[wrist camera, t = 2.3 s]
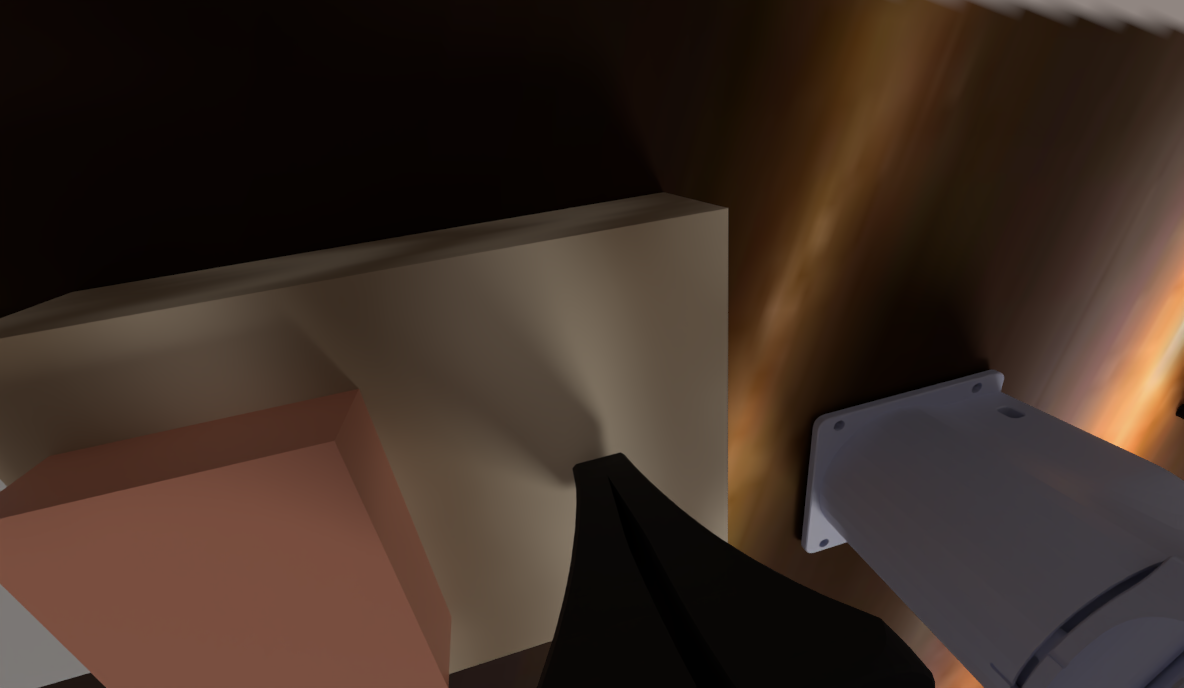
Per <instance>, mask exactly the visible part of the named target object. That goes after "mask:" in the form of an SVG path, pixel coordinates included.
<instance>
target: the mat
mask: <svg viewBox="0 0 1184 688" xmlns="http://www.w3.org/2000/svg"><path fill="white" fill-rule="evenodd" d="M6 487H7V486H6V485H5V484H4V483H3V482H2V481H1V479H0V492H1V491H2V490H3V489H5V488H6ZM87 673H90V671H89V670H88V669H87V668H86V667H85V666H84V665H83V664H82V663H81V662H80V661H79V660H78V659H77V658H76V657H75V656H74V655H73V654H72V653H70V652H69V651H68V650H67V649H66V648H65V647H64V646H63V645H62V644H61V643H60V642H59V641H58V640H57V639H56V638H55V637H54V636H53V635H52V634H51V633H50V632H49V631H48V630H47V629H46V628H45V627H44V626H43V625H42V624H41V623H40V622H39V621H38V620H37V619H36V618H35V617H34V616H33V615H32V614H31V613H30V612H29V611H28V610H27V609H25V608H24V607H23V606H22V605H21V604H20V603H19V602H18V601H17V600H16V599H15V598H14V597H13V596H12V595H11V594H10V593H9V592H8V591H7V590H6V589H5V588H4V587H3V586H2V585H1V584H0V688H38V687H42V686H45V685H49V684H52V683H55V682H59V681H62V680H66V679H69V678H73V677H76V676H80V675H83V674H87Z"/></svg>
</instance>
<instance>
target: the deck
mask: <svg viewBox="0 0 1184 688" xmlns="http://www.w3.org/2000/svg"><path fill="white" fill-rule="evenodd" d="M356 389H359V390H360V392H361V395H362V397H363V400H364V402H365V405H366V407H367V410H368V412H369V415H370V417H371V420H372V422H373V425H374V427H375V429H376V432H377V434H378V437H379V439H380V442H381V444H382V447H383V449H384V452H385V454H386V457H387V459H388V462H389V464H390V466H391V469H392V471H393V474H394V476H395V479H396V481H397V484H398V486H399V489H400V491H401V494H402V496H403V498H404V501H405V503H406V506H407V508H408V511H409V513H410V516H411V518H412V521H413V523H414V526H415V528H416V531H417V533H418V535H419V538H420V540H421V543H422V545H423V548H424V550H425V553H426V555H427V558H428V560H429V563H430V565H431V568H432V570H433V572H434V575H435V577H436V580H437V582H438V585H439V587H440V590H441V592H442V595H443V597H444V600H445V602H446V604H447V607H448V609H449V612H450V614H451V617H452V620H451V641H450V662H449V674H450V673H453V672H456V671H460V670H463V669H466V668H469V667H472V666H475V665H478V664H481V663H484V662H487V661H491V660H494V659H497V658H500V657H503V656H506V655H509V654H512V653H515V652H518V651H522V650H525V649H528V648H531V647H534V646H537V645H540V644H543V643H546V642H549V641H552V640H553V637H554V633H555V630H556V626H557V622H558V618H559V614H560V611H561V607H562V603H563V598H564V594H565V589H566V585H567V580H568V574H569V569H570V563H571V557H572V549H573V541H574V533H575V519H576V486H575V480H574V475H573V470H572V468H573V467H574V466H575V465H576V464H578V463H582V462H585V461H589V460H593V459H597V458H601V457H604V456H608V455H612V454H616V453H620V452H621V453H623V454H624V455H625V456H626V457H627V458H628V459H629V460H630V461H631V462H632V463H633V465H634V466H635V467H636V468H637V469H638V470H639V471H640V472H641V473H642V474H643V475H644V476H645V477H646V478H647V479H648V480H649V481H650V482H651V483H652V484H654V485H655V486H656V487H657V488H658V489H659V490H660V491H661V492H662V493H663V494H665V495H666V496H667V497H668V498H669V499H670V500H671V501H673V502H674V503H675V504H676V505H677V506H678V507H680V508H681V509H682V510H683V511H685V512H686V513H687V514H688V515H690V516H691V517H692V518H694V519H695V520H696V521H697V522H699V523H700V524H701V525H703V526H704V527H705V528H707V529H708V530H709V531H711V532H712V533H714V534H715V535H717V536H718V537H719V538H721V539H722V540H724V541H726V542H727V543H728V208H726V207H722V206H717V205H713V204H709V203H705V202H701V201H697V200H693V199H689V198H685V197H681V196H677V195H673V194H669V193H665V192H662V193H656V194H650V195H644V196H638V197H632V198H626V199H620V200H615V201H609V202H603V203H597V204H591V205H585V206H579V207H573V208H567V209H561V210H555V211H549V212H543V213H538V214H532V215H526V216H520V217H514V218H508V219H502V220H496V221H490V222H484V223H478V224H472V225H466V226H461V227H455V228H449V229H443V230H437V231H431V232H425V233H419V234H413V235H407V236H401V237H395V238H389V239H383V240H378V241H372V242H366V243H360V244H354V245H348V246H342V247H336V248H330V249H324V250H318V251H312V252H306V253H301V254H295V255H289V256H283V257H277V258H271V259H265V260H259V261H253V262H247V263H241V264H235V265H229V266H224V267H218V268H212V269H206V270H200V271H194V272H188V273H182V274H176V275H170V276H164V277H158V278H152V279H147V280H141V281H135V282H129V283H123V284H117V285H111V286H105V287H99V288H93V289H87V290H81V291H75V292H71V293H68V294H66V295H63V296H60V297H57V298H55V299H52V300H49V301H46V302H44V303H41V304H38V305H36V306H33V307H30V308H27V309H25V310H22V311H19V312H16V313H14V314H11V315H8V316H5V317H3V318H0V479H1V481H2V482H3V483H4V484H5V485H6V486H7V487H8V486H9V485H10V484H12V483H13V482H14V481H16V480H17V479H18V478H20V477H21V476H23V475H24V474H25V473H27V472H28V471H29V470H31V469H32V468H34V467H35V466H36V465H38V464H39V463H40V462H42V461H43V460H44V459H46V458H47V457H49V456H52V455H57V454H61V453H66V452H70V451H75V450H80V449H84V448H89V447H93V446H98V445H103V444H107V443H112V442H116V441H121V440H126V439H130V438H135V437H139V436H144V435H149V434H153V433H158V432H162V431H167V430H172V429H176V428H181V427H185V426H190V425H195V424H199V423H204V422H208V421H213V420H218V419H222V418H227V417H231V416H236V415H241V414H245V413H250V412H254V411H259V410H264V409H268V408H273V407H277V406H282V405H287V404H291V403H296V402H300V401H305V400H310V399H314V398H319V397H323V396H328V395H333V394H337V393H342V392H346V391H351V390H356Z"/></svg>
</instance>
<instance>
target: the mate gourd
mask: <svg viewBox="0 0 1184 688" xmlns="http://www.w3.org/2000/svg"><path fill="white" fill-rule="evenodd" d="M1176 416H1178V417H1181V418H1183V419H1184V404H1182V405H1181V406H1180V407H1179V409H1178V411H1177V413H1176Z"/></svg>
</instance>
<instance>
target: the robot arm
mask: <svg viewBox="0 0 1184 688" xmlns="http://www.w3.org/2000/svg"><path fill="white" fill-rule="evenodd" d="M1003 381H1004V376H1003V374H1002V373H1000V372H998V371H996V370H988V371H984V372H980V373H977V374H973V375H969V376H965V377H962V378H958V379H954V380H950V381H947V382H943V383H939V384H936V385H932V386H928V387H924V388H921V389H917V390H913V391H909V392H906V393H902V394H898V395H894V396H891V397H887V398H883V399H879V400H876V401H872V402H868V403H865V404H861V405H857V406H853V407H850V408H846V409H842V410H838V411H835V412H831V413H827V414H824V415H821V416H819V417H818V418H817V419H816V420H815V422H814V425H813V431H812V441H811V451H810V461H809V471H808V481H807V491H806V501H805V511H804V521H803V531H802V541H801V545H802V547H803V548H804V549H805V550H806V551H807V552H808V553H814V552H817V551H820V550H824V549H827V548H830V547H833V546H836V545H839V544H842V543H845V542H848V543H849V544H850V545H851V546H852V548H853V549H854V550H855V551H856V552H857V553H858V554H859V555H860V556H861V557H862V558H863V559H864V560H865V561H866V562H867V563H868V565H869V566H870V567H871V568H872V569H873V570H874V571H875V572H876V573H877V574H878V575H879V576H880V577H881V578H882V579H883V580H884V582H885V583H886V584H887V585H888V586H889V587H890V588H891V589H892V590H893V591H894V592H895V593H896V594H897V595H898V596H899V597H900V599H901V600H902V601H903V602H904V603H905V604H906V605H907V606H908V607H909V608H910V609H911V610H912V611H913V612H914V613H915V614H916V616H917V617H918V618H919V619H920V620H921V621H922V622H923V623H924V624H925V625H926V626H927V627H928V628H929V629H930V630H931V631H932V633H933V634H934V635H935V636H936V637H937V638H938V639H939V640H940V641H941V642H942V643H943V644H944V645H945V646H946V647H947V648H948V650H949V651H950V652H951V653H952V654H953V655H954V656H955V657H956V658H957V659H958V660H959V661H960V662H961V663H962V664H963V665H964V667H965V668H966V669H967V670H968V671H969V672H970V673H971V674H972V675H973V676H974V677H975V678H976V679H977V680H978V681H979V682H980V684H981V685H982V686H983V687H984V688H1184V481H1183V480H1182V479H1180V478H1179V477H1177V476H1175V475H1174V474H1172V473H1171V472H1169V471H1167V470H1165V469H1164V468H1162V467H1160V466H1158V465H1156V464H1154V463H1152V462H1150V461H1148V460H1145V459H1143V458H1141V457H1139V456H1137V455H1135V454H1133V453H1130V452H1128V451H1126V450H1124V449H1122V448H1120V447H1118V446H1115V445H1113V444H1111V443H1109V442H1107V441H1105V440H1103V439H1101V438H1098V437H1096V436H1094V435H1092V434H1090V433H1088V432H1086V431H1083V430H1081V429H1079V428H1077V427H1075V426H1073V425H1071V424H1068V423H1066V422H1064V421H1062V420H1060V419H1058V418H1056V417H1054V416H1051V415H1049V414H1047V413H1045V412H1043V411H1041V410H1039V409H1036V408H1034V407H1032V406H1030V405H1028V404H1026V403H1024V402H1021V401H1019V400H1017V399H1015V398H1013V397H1011V396H1009V395H1007V394H1004V393H1002V392H1000V391H1001V388H1002V385H1003ZM572 470H573V475H574V480H575V486H576V519H575V533H574V541H573V549H572V557H571V563H570V569H569V574H568V580H567V585H566V589H565V594H564V598H563V603H562V607H561V611H560V614H559V618H558V622H557V626H556V630H555V633H554V637H553V640H552V644H551V647H550V650H549V653H548V656H547V659H546V662H545V665H544V668H543V671H542V674H541V677H540V680H539V683H538V686H537V688H935V681H934V678H933V675H932V673H931V671H930V670H929V669H928V668H927V667H926V666H925V664H924V663H923V662H922V661H921V660H920V659H919V658H918V656H917V655H916V654H915V653H914V652H913V651H912V649H911V648H910V647H909V646H908V645H907V644H906V643H905V642H904V641H903V640H902V639H901V638H900V637H899V636H898V635H897V634H896V633H895V632H894V631H893V630H892V629H891V628H890V627H889V626H888V625H887V624H886V623H885V622H884V621H883V620H882V619H881V618H879V617H876V616H874V615H871V614H869V613H866V612H864V611H861V610H859V609H856V608H854V607H851V606H849V605H846V604H844V603H841V602H839V601H836V600H834V599H831V598H829V597H827V596H824V595H822V594H820V593H818V592H816V591H814V590H811V589H809V588H807V587H805V586H803V585H801V584H799V583H797V582H795V581H793V580H791V579H789V578H787V577H785V576H784V575H782V574H780V573H778V572H776V571H774V570H772V569H771V568H769V567H767V566H765V565H763V564H761V563H759V562H758V561H756V560H754V559H752V558H751V557H749V556H748V555H746V554H744V553H743V552H741V551H739V550H738V549H736V548H735V547H733V546H732V545H730V544H729V543H727V542H726V541H724V540H722V539H721V538H719V537H718V536H717V535H715V534H714V533H712V532H711V531H709V530H708V529H707V528H705V527H704V526H703V525H701V524H700V523H699V522H697V521H696V520H695V519H694V518H692V517H691V516H690V515H688V514H687V513H686V512H685V511H683V510H682V509H681V508H680V507H678V506H677V505H676V504H675V503H674V502H673V501H671V500H670V499H669V498H668V497H667V496H666V495H665V494H663V493H662V492H661V491H660V490H659V489H658V488H657V487H656V486H655V485H654V484H652V483H651V482H650V481H649V480H648V479H647V478H646V477H645V476H644V475H643V474H642V473H641V472H640V471H639V470H638V469H637V468H636V467H635V466H634V465H633V463H632V462H631V461H630V460H629V459H628V458H627V457H626V456H625V455H624V454H623V453H621V452H620V453H616V454H612V455H608V456H604V457H601V458H597V459H593V460H589V461H585V462H582V463H578V464H576V465H575V466H574V467H573V468H572Z"/></svg>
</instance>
